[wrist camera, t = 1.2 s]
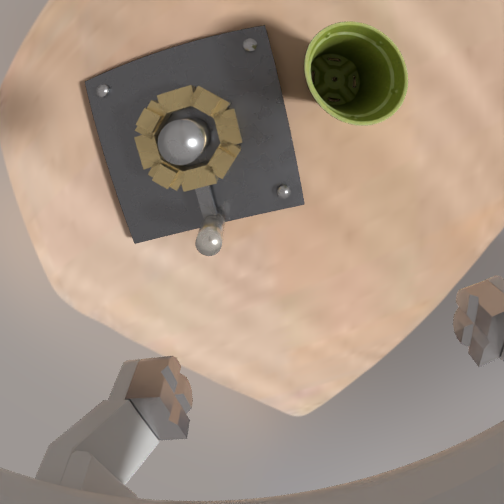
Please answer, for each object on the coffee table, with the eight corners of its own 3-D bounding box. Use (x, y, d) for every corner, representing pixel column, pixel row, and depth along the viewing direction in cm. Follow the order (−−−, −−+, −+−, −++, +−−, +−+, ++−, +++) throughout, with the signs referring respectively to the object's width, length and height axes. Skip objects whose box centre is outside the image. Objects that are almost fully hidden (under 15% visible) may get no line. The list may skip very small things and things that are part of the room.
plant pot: (289, 118, 32) (304, 122, 24) (289, 36, 28) (303, 15, 20) (371, 123, 32) (406, 130, 24) (371, 45, 28) (406, 31, 20)
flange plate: (90, 82, 29) (57, 79, 22) (263, 28, 28) (269, 8, 21) (138, 238, 38) (117, 267, 31) (302, 200, 36) (316, 223, 29)
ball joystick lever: (133, 106, 29) (111, 107, 24) (227, 78, 28) (223, 71, 23) (174, 240, 36) (162, 266, 30) (261, 220, 35) (264, 243, 30)
